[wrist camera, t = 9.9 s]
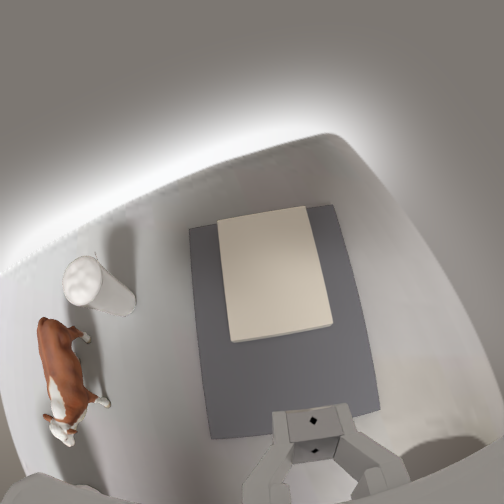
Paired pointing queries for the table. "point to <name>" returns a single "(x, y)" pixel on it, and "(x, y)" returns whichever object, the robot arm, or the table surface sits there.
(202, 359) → the mat
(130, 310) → the milkshake
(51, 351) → the bull figurine
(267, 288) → the tile
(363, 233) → the table surface
